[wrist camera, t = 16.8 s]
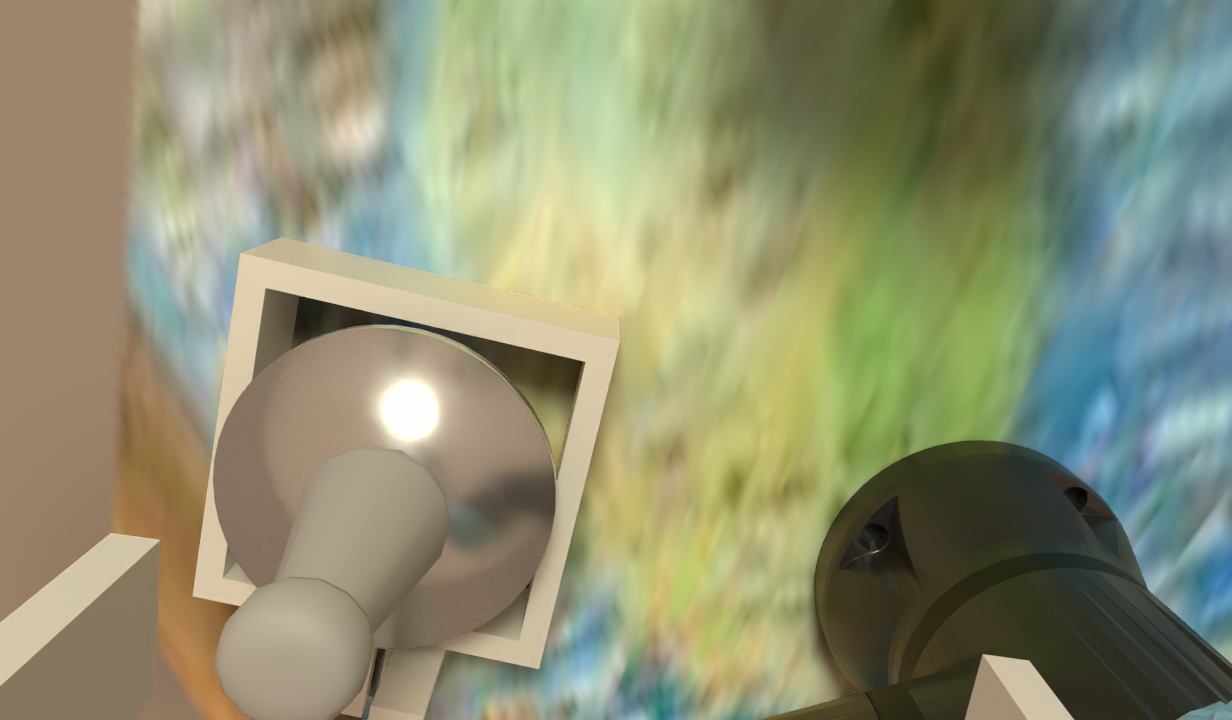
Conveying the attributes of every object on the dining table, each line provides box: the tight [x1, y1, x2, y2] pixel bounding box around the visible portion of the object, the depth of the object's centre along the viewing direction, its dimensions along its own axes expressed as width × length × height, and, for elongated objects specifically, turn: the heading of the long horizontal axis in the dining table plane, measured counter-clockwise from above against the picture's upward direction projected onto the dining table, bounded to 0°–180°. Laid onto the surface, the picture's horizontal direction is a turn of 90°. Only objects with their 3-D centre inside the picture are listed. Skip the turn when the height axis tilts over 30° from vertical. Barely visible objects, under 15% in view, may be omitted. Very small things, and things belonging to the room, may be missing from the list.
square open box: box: [193, 237, 620, 720], centre depth 42 cm, size 17×16×10 cm
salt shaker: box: [214, 447, 450, 720], centre depth 33 cm, size 6×6×13 cm
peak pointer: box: [369, 648, 386, 697], centre depth 43 cm, size 2×2×1 cm
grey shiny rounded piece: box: [213, 324, 557, 718], centre depth 42 cm, size 18×14×6 cm
